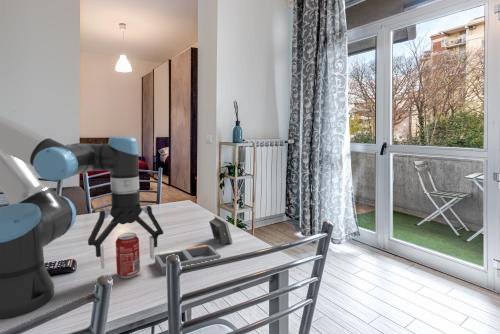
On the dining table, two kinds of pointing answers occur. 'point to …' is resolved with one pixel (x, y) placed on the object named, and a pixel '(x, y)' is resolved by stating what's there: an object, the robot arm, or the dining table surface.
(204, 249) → the socket board
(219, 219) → the electrical switch
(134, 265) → the beverage can
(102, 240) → the robot arm
